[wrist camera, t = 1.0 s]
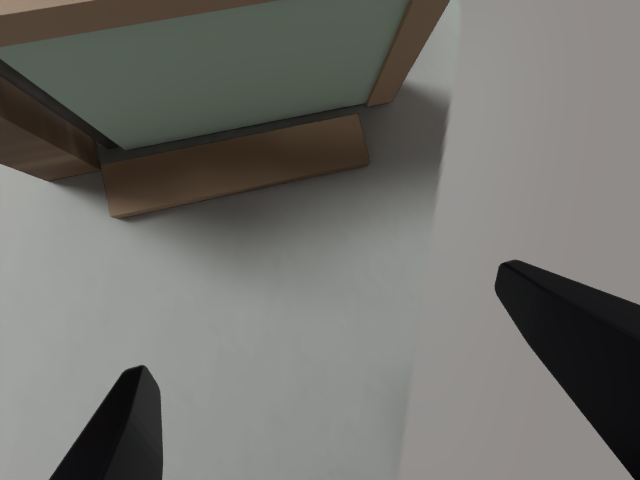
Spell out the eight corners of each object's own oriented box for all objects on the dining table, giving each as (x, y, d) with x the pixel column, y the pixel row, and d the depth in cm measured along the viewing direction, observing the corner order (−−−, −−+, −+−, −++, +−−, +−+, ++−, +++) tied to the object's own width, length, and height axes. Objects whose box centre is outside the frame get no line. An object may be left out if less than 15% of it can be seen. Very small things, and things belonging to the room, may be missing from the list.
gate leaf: (126, 154, 21) (-57, 24, 10) (119, 121, 21) (-69, -43, 10) (391, 101, 23) (485, -63, 12) (383, 71, 23) (469, -120, 12)
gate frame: (367, 165, 23) (485, -9, 9) (56, 231, 21) (-414, 149, 7) (344, 73, 23) (421, -233, 9) (37, 131, 21) (-440, -134, 7)
